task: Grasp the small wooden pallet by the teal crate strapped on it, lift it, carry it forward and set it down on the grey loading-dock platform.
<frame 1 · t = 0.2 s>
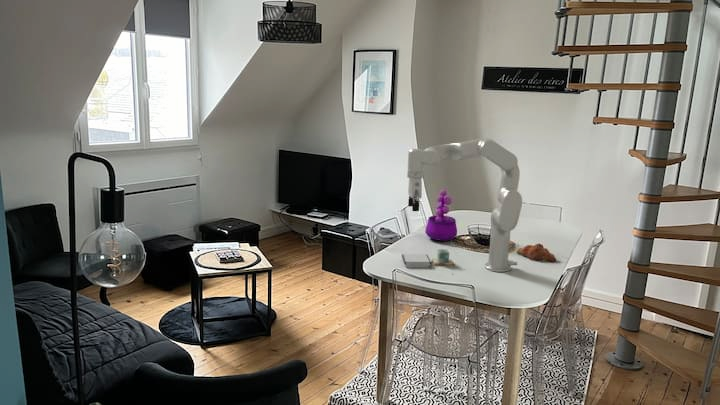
hand: (413, 208, 259), 31 cm above the table, tool pointing down, fingers open, 9 cm apart
loaded pallet: (442, 263, 272), on the table
dock: (415, 263, 272), on the table
decorative plant: (440, 239, 315), on the table
pastry: (535, 258, 285), on the table
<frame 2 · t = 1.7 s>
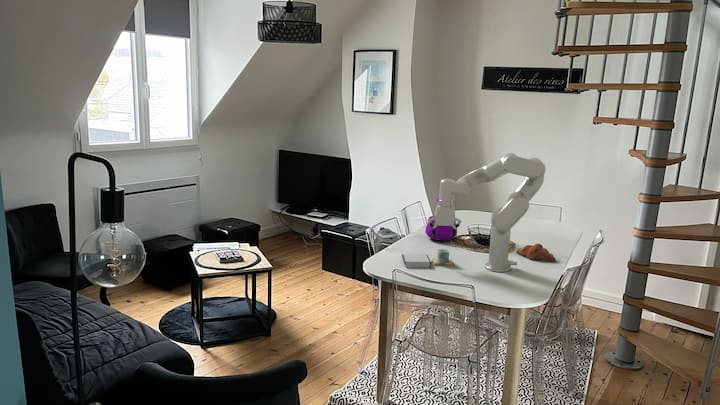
hand: (443, 235, 269), 15 cm above the table, tool pointing down, fingers open, 9 cm apart
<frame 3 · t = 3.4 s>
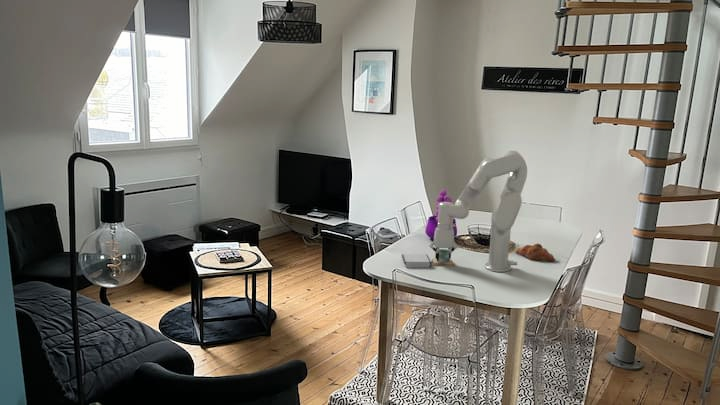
hand: (442, 259, 272), 2 cm above the table, tool pointing down, fingers closed on loaded pallet, 5 cm apart
loaded pallet: (442, 263, 272), on the table, touching gripper
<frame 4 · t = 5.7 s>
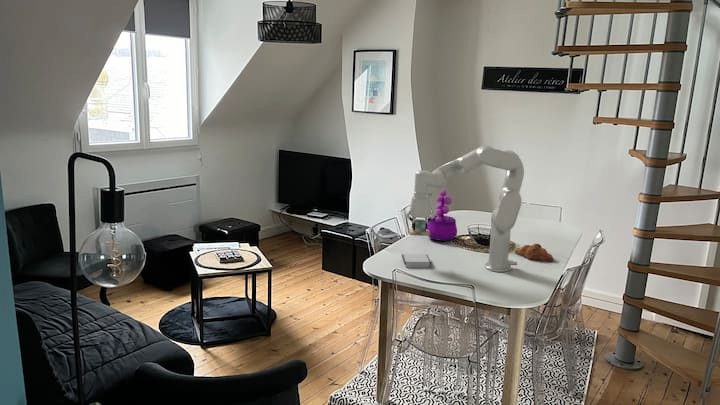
hand: (419, 229, 268), 18 cm above the table, tool pointing down, fingers closed on loaded pallet, 5 cm apart
loaded pallet: (419, 233, 268), point 16 cm above the table, touching gripper
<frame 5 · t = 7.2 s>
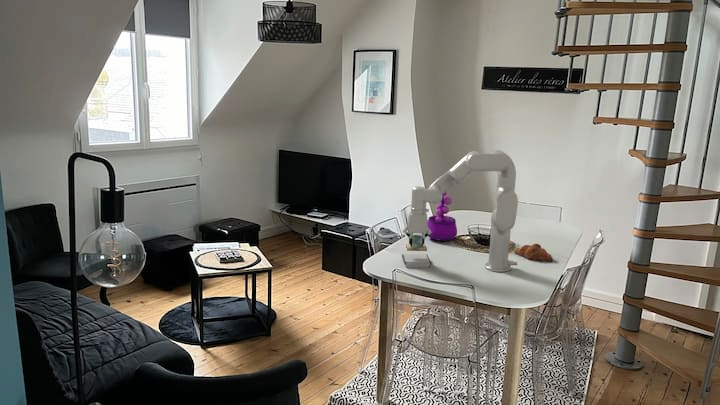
hand: (416, 245, 270), 10 cm above the table, tool pointing down, fingers closed on loaded pallet, 5 cm apart
loaded pallet: (416, 249, 270), point 8 cm above the table, touching gripper
when the fingers open (6 cm above the table, at t = 8.2 s): loaded pallet drops 1 cm, resting on dock.
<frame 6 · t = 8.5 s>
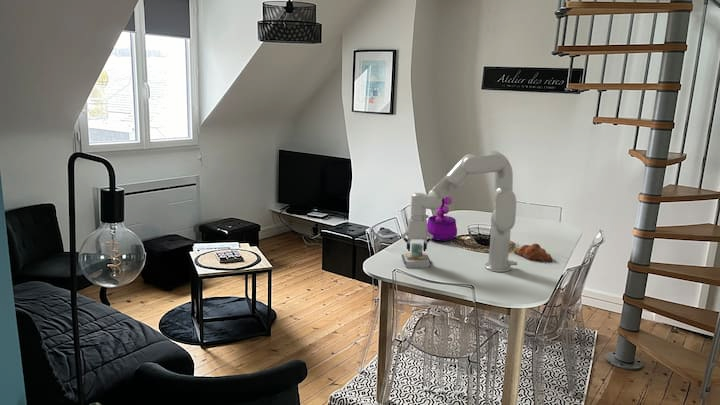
hand: (416, 250, 270), 7 cm above the table, tool pointing down, fingers open, 7 cm apart
loaded pallet: (416, 257, 271), point 3 cm above the table, touching dock
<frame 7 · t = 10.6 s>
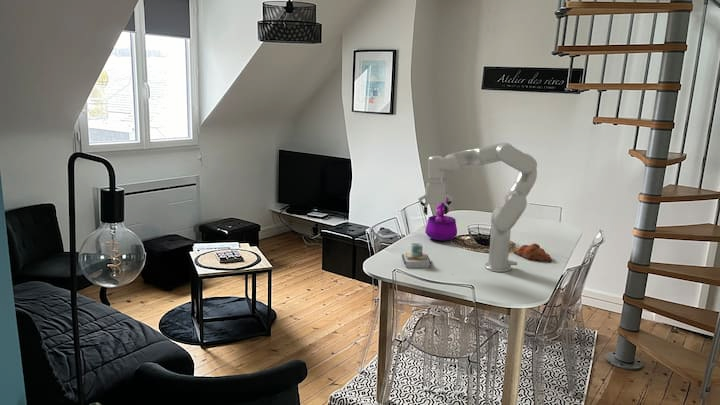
hand: (435, 214, 266), 26 cm above the table, tool pointing down, fingers open, 9 cm apart
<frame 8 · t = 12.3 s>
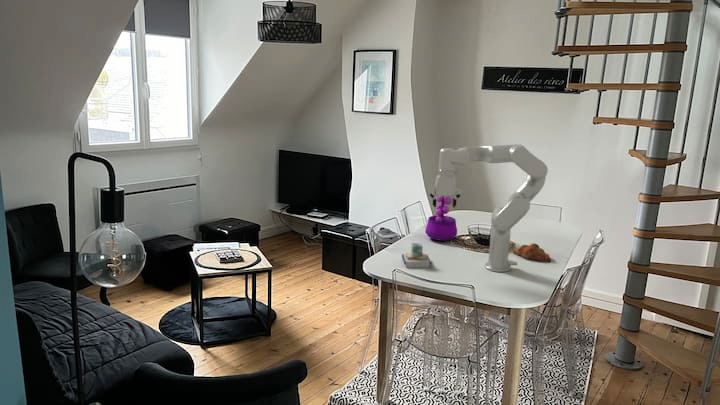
hand: (444, 206, 265), 30 cm above the table, tool pointing down, fingers open, 9 cm apart
at the end: loaded pallet inside the target area on the dock (0.1 cm from its centre), point 3.0 cm above the dock's base; loaded pallet tilted 0°; the gripper is holding nothing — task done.
